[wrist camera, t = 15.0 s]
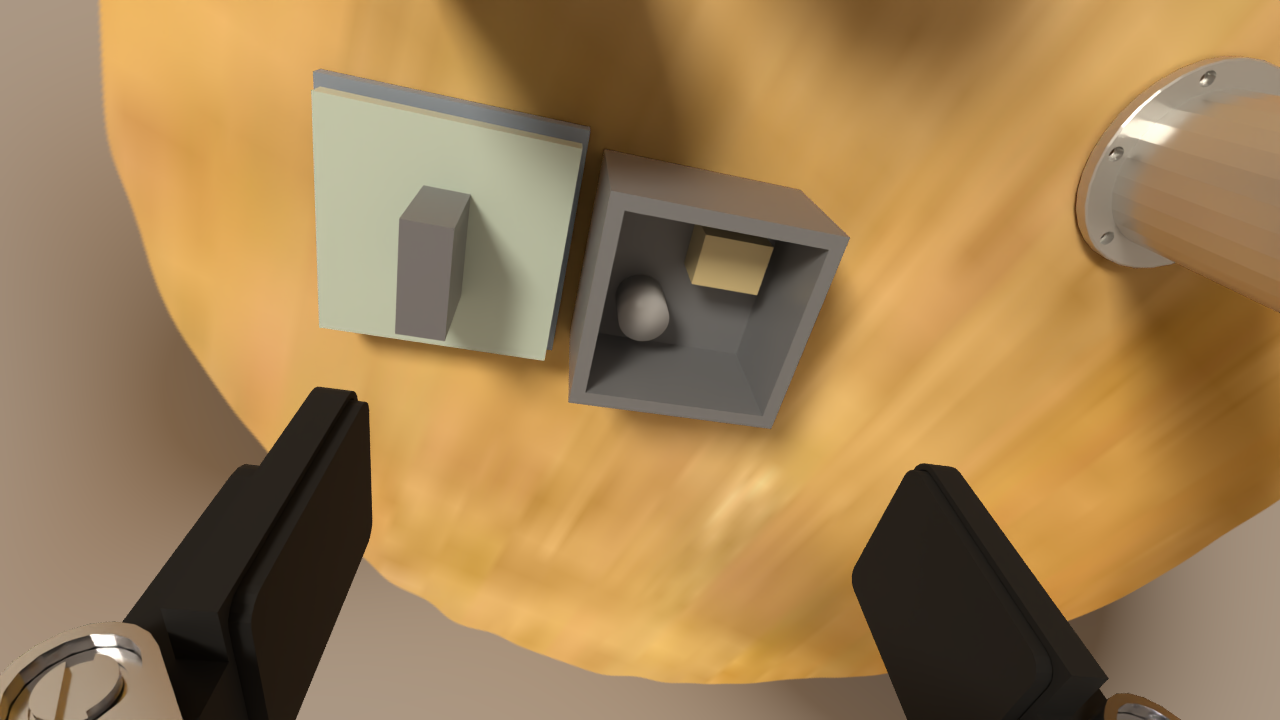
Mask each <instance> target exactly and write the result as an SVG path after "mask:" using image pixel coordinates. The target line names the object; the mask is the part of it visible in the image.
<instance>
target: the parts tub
mask: <svg viewBox="0 0 1280 720" xmlns="http://www.w3.org/2000/svg"><path fill="white" fill-rule="evenodd" d="M849 239H850V237H849V236H848V235H847V234H846V233H845V232H844V231H843V230H841V229H840V228H839V227H838V226H837V225H836V224H835V223H834V222H833V221H832V220H831V219H830V218H829V217H828V216H827V215H826V214H825V213H824V212H823V211H822V210H821V209H820V208H819V207H818V206H817V205H816V204H815V203H813V202H812V201H811V200H810V199H809V198H808V197H807V196H806V195H805V194H804V193H803V192H802V191H801V190H798V189H793V188H789V187H784V186H779V185H774V184H770V183H765V182H760V181H755V180H750V179H746V178H741V177H736V176H731V175H727V174H722V173H717V172H712V171H708V170H703V169H698V168H693V167H688V166H684V165H679V164H674V163H669V162H665V161H660V160H655V159H650V158H645V157H641V156H636V155H631V154H626V153H622V152H617V151H612V150H607V149H604V153H603V159H602V164H601V169H600V175H599V180H598V185H597V190H596V196H595V201H594V206H593V212H592V217H591V222H590V228H589V233H588V238H587V243H586V249H585V254H584V259H583V265H582V270H581V275H580V280H579V286H578V291H577V296H576V302H575V307H574V312H573V318H572V323H571V328H570V347H569V401H568V402H569V403H577V404H585V405H592V406H600V407H608V408H615V409H623V410H631V411H638V412H646V413H654V414H661V415H669V416H677V417H684V418H692V419H700V420H707V421H715V422H723V423H730V424H738V425H746V426H753V427H761V428H769V429H771V428H772V425H773V423H774V421H775V418H776V416H777V413H778V411H779V409H780V406H781V404H782V401H783V399H784V396H785V394H786V392H787V389H788V387H789V384H790V382H791V379H792V377H793V375H794V372H795V370H796V367H797V365H798V363H799V360H800V358H801V355H802V353H803V350H804V348H805V346H806V343H807V341H808V338H809V336H810V333H811V331H812V329H813V326H814V324H815V321H816V319H817V316H818V314H819V312H820V309H821V307H822V304H823V302H824V300H825V297H826V295H827V292H828V290H829V287H830V285H831V283H832V280H833V278H834V275H835V273H836V270H837V268H838V266H839V263H840V261H841V258H842V256H843V253H844V251H845V249H846V246H847V244H848V241H849Z"/></svg>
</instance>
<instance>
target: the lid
mask: <svg viewBox="0 0 1280 720" xmlns="http://www.w3.org/2000/svg"><path fill="white" fill-rule="evenodd" d="M311 94H312V124H313V154H314V184H315V214H316V244H317V274H318V304H319V327H320V328H327V329H334V330H340V331H347V332H354V333H360V334H367V335H374V336H381V337H387V338H394V339H401V340H407V341H414V342H421V343H428V344H434V345H441V346H448V347H454V348H461V349H468V350H475V351H481V352H488V353H495V354H501V355H508V356H515V357H522V358H528V359H535V360H542V361H544V360H545V354H546V349H547V343H548V338H549V332H550V327H551V321H552V316H553V310H554V304H555V299H556V293H557V288H558V282H559V277H560V271H561V265H562V260H563V254H564V249H565V243H566V238H567V232H568V227H569V221H570V215H571V210H572V204H573V199H574V193H575V188H576V182H577V177H578V171H579V165H580V160H581V154H582V143H577V142H573V141H568V140H563V139H559V138H554V137H550V136H545V135H540V134H536V133H531V132H527V131H522V130H518V129H513V128H508V127H504V126H499V125H495V124H490V123H486V122H481V121H476V120H472V119H467V118H463V117H458V116H453V115H449V114H444V113H440V112H435V111H431V110H426V109H421V108H417V107H412V106H408V105H403V104H398V103H394V102H389V101H385V100H380V99H376V98H371V97H366V96H362V95H357V94H353V93H348V92H344V91H339V90H334V89H330V88H325V87H321V86H320V87H318V88H315V89H313V90H311Z"/></svg>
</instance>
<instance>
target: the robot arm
mask: <svg viewBox="0 0 1280 720" xmlns="http://www.w3.org/2000/svg"><path fill="white" fill-rule="evenodd" d="M1076 214H1077V220H1078V226H1079V229H1080V231H1081V233H1082V236H1083V238H1084V240H1085V241H1086V242H1087V243H1088V245H1089V246H1090V247H1091V248H1092V250H1094V251H1095V252H1097V253H1098V254H1100V255H1101V256H1103V257H1104V258H1106V259H1108V260H1110V261H1112V262H1115V263H1117V264H1119V265H1122V266H1127V267H1132V268H1154V267H1160V266H1165V265H1170V264H1173V263H1177V264H1179V265H1181V266H1183V267H1185V268H1187V269H1190V270H1192V271H1194V272H1196V273H1198V274H1200V275H1202V276H1204V277H1206V278H1208V279H1210V280H1212V281H1214V282H1217V283H1219V284H1221V285H1223V286H1225V287H1227V288H1229V289H1231V290H1233V291H1235V292H1237V293H1239V294H1241V295H1243V296H1246V297H1248V298H1250V299H1252V300H1254V301H1256V302H1258V303H1260V304H1262V305H1264V306H1266V307H1268V308H1270V309H1273V310H1275V311H1277V312H1279V313H1280V67H1278V66H1276V65H1273V64H1271V63H1269V62H1267V61H1265V60H1259V59H1253V58H1247V57H1233V56H1222V57H1217V58H1211V59H1206V60H1201V61H1199V62H1196V63H1193V64H1191V65H1188V66H1185V67H1183V68H1180V69H1178V70H1177V71H1175V72H1173V73H1171V74H1169V75H1168V76H1166V77H1164V78H1162V79H1160V80H1159V81H1157V82H1156V83H1155V84H1153V85H1152V86H1150V87H1149V88H1148V89H1146V90H1145V91H1144V92H1142V93H1141V94H1140V95H1138V96H1137V97H1136V98H1135V99H1134V100H1133V101H1132V102H1131V103H1130V104H1129V105H1128V106H1127V107H1126V108H1125V109H1124V110H1123V111H1122V112H1121V113H1120V114H1119V115H1118V116H1117V117H1116V118H1115V120H1114V121H1113V122H1112V123H1111V125H1110V126H1109V127H1108V128H1107V129H1106V131H1105V132H1104V133H1103V135H1102V137H1101V138H1100V140H1099V141H1098V143H1097V145H1096V146H1095V148H1094V149H1093V151H1092V153H1091V155H1090V157H1089V159H1088V161H1087V164H1086V166H1085V168H1084V171H1083V173H1082V176H1081V180H1080V184H1079V188H1078V191H1077V203H1076ZM371 529H372V493H371V460H370V427H369V406H368V403H367V402H362V401H358V399H357V395H356V393H355V392H354V391H348V390H340V389H332V388H324V387H316V388H314V389H313V390H312V391H311V393H310V394H309V395H308V397H307V398H306V400H305V401H304V403H303V404H302V406H301V407H300V408H299V410H298V411H297V413H296V414H295V416H294V417H293V418H292V420H291V421H290V423H289V424H288V426H287V427H286V428H285V430H284V431H283V433H282V434H281V436H280V437H279V438H278V440H277V441H276V443H275V444H274V446H273V447H272V449H271V450H270V451H269V453H268V454H267V456H266V457H265V459H264V460H263V462H262V463H261V464H260V466H257V465H248V464H244V465H242V466H241V467H239V468H237V470H236V471H235V472H234V473H233V474H232V475H231V476H230V477H229V479H228V480H227V481H226V483H225V484H224V485H223V487H222V488H221V490H220V491H219V492H218V494H217V495H216V496H215V498H214V499H213V500H212V502H211V503H210V504H209V506H208V507H207V508H206V510H205V511H204V512H203V514H202V515H201V517H200V518H199V519H198V521H197V522H196V523H195V525H194V526H193V527H192V529H191V530H190V531H189V533H188V534H187V535H186V537H185V538H184V539H183V541H182V542H181V544H180V545H179V546H178V548H177V549H176V550H175V552H174V553H173V554H172V556H171V557H170V558H169V560H168V561H167V563H166V564H165V565H164V566H163V568H162V569H161V571H160V572H159V573H158V575H157V576H156V577H155V579H154V580H153V581H152V583H151V584H150V585H149V587H148V588H147V590H146V591H145V592H144V594H143V595H142V596H141V598H140V599H139V600H138V602H137V603H136V604H135V606H134V607H133V608H132V610H131V611H130V612H129V614H128V615H127V617H126V618H125V619H124V620H123V622H122V623H121V622H115V621H113V622H103V623H93V624H88V625H84V626H81V627H77V628H74V629H71V630H68V631H64V632H62V633H60V634H58V635H56V636H54V637H51V638H49V639H47V640H45V641H43V642H41V643H39V644H37V645H35V646H34V647H33V648H31V649H30V650H28V651H27V652H26V653H24V654H23V655H21V656H20V657H19V658H17V659H16V660H15V661H13V662H12V663H11V664H10V665H9V666H8V667H7V668H6V669H5V670H4V671H3V672H2V673H1V674H0V720H296V717H297V715H298V712H299V710H300V708H301V705H302V702H303V700H304V698H305V696H306V693H307V691H308V688H309V686H310V683H311V681H312V678H313V676H314V673H315V671H316V669H317V666H318V664H319V661H320V659H321V657H322V654H323V652H324V649H325V647H326V644H327V642H328V640H329V637H330V635H331V632H332V630H333V627H334V625H335V622H336V620H337V617H338V615H339V613H340V610H341V608H342V605H343V603H344V601H345V598H346V596H347V593H348V591H349V588H350V586H351V583H352V581H353V579H354V576H355V574H356V571H357V569H358V566H359V564H360V562H361V559H362V557H363V554H364V552H365V549H366V547H367V544H368V542H369V538H370V534H371ZM852 585H853V589H854V592H855V594H856V596H857V599H858V601H859V604H860V606H861V609H862V611H863V613H864V616H865V618H866V621H867V623H868V626H869V628H870V630H871V633H872V635H873V638H874V640H875V643H876V645H877V647H878V650H879V652H880V655H881V657H882V660H883V662H884V664H885V667H886V669H887V672H888V674H889V677H890V679H891V681H892V684H893V686H894V688H895V691H896V694H897V696H898V698H899V701H900V703H901V706H902V708H903V710H904V713H905V715H906V718H907V720H1181V719H1179V718H1178V717H1176V716H1175V715H1174V714H1172V713H1171V712H1169V711H1168V710H1166V709H1165V708H1164V707H1162V706H1160V705H1158V704H1156V703H1154V702H1152V701H1150V700H1148V699H1146V698H1144V697H1141V696H1137V695H1134V694H1130V693H1116V694H1115V695H1113V696H1111V697H1110V698H1108V699H1106V698H1105V696H1104V695H1103V694H1102V692H1101V691H1100V689H1099V688H1100V687H1101V686H1102V685H1103V684H1104V683H1105V682H1106V681H1107V680H1108V677H1107V676H1106V674H1105V673H1104V671H1103V670H1102V669H1101V667H1100V666H1099V664H1098V663H1097V662H1096V660H1095V659H1094V658H1093V656H1092V655H1091V653H1090V652H1089V651H1088V649H1087V648H1086V647H1085V645H1084V644H1083V642H1082V641H1081V640H1080V638H1079V637H1078V635H1077V634H1076V633H1075V632H1074V630H1073V628H1072V627H1071V626H1070V624H1069V623H1068V622H1067V620H1066V619H1065V617H1064V616H1063V615H1062V613H1061V612H1060V610H1059V609H1058V608H1057V606H1056V605H1055V604H1054V602H1053V601H1052V599H1051V598H1050V597H1049V595H1048V594H1047V592H1046V591H1045V590H1044V588H1043V587H1042V586H1041V584H1040V583H1039V581H1038V580H1037V579H1036V577H1035V576H1034V574H1033V573H1032V572H1031V570H1030V569H1029V568H1028V566H1027V565H1026V563H1025V562H1024V561H1023V559H1022V558H1021V556H1020V555H1019V554H1018V552H1017V551H1016V550H1015V548H1014V547H1013V545H1012V544H1011V543H1010V541H1009V540H1008V538H1007V537H1006V536H1005V534H1004V533H1003V532H1002V530H1001V529H1000V527H999V526H998V525H997V523H996V522H995V520H994V519H993V518H992V516H991V515H990V514H989V512H988V511H987V509H986V508H985V507H984V505H983V504H982V502H981V501H980V500H979V498H978V497H977V496H976V494H975V493H974V491H973V490H972V489H971V487H970V486H969V484H968V483H967V482H966V480H965V479H964V478H963V476H962V475H961V473H960V472H959V471H958V470H957V469H956V468H953V467H949V466H941V465H933V464H925V463H924V464H919V465H918V466H916V467H915V469H914V470H910V471H908V472H907V473H906V475H905V476H904V478H903V479H902V481H901V483H900V485H899V487H898V489H897V490H896V492H895V494H894V496H893V498H892V499H891V501H890V503H889V505H888V507H887V509H886V510H885V512H884V514H883V516H882V518H881V519H880V521H879V523H878V525H877V527H876V529H875V530H874V532H873V534H872V536H871V538H870V539H869V541H868V543H867V545H866V547H865V549H864V550H863V552H862V554H861V556H860V558H859V559H858V561H857V563H856V565H855V567H854V569H853V573H852Z"/></svg>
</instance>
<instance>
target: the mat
mask: <svg viewBox="0 0 1280 720" xmlns="http://www.w3.org/2000/svg"><path fill="white" fill-rule="evenodd" d="M313 80H314V89H315V88H318V87H320V86H321V87H325V88H330V89H334V90H339V91H344V92H348V93H353V94H357V95H362V96H366V97H371V98H376V99H380V100H385V101H389V102H394V103H398V104H403V105H408V106H412V107H417V108H421V109H426V110H431V111H435V112H440V113H444V114H449V115H453V116H458V117H463V118H467V119H472V120H476V121H481V122H486V123H490V124H495V125H499V126H504V127H508V128H513V129H518V130H522V131H527V132H531V133H536V134H540V135H545V136H550V137H554V138H559V139H563V140H568V141H573V142H577V143H582V154H581V160H580V165H579V171H578V177H577V182H576V188H575V193H574V199H573V204H572V210H571V215H570V221H569V227H568V232H567V238H566V243H565V249H564V254H563V260H562V265H561V271H560V277H559V282H558V288H557V293H556V299H555V304H554V310H553V316H552V321H551V327H550V332H549V338H548V343H547V350H552V347H553V341H554V336H555V330H556V324H557V318H558V313H559V307H560V301H561V296H562V290H563V284H564V279H565V273H566V267H567V261H568V256H569V250H570V244H571V239H572V233H573V227H574V221H575V216H576V210H577V204H578V199H579V193H580V187H581V182H582V176H583V170H584V164H585V159H586V153H587V147H588V142H589V136H590V127H588V126H583V125H578V124H574V123H569V122H565V121H560V120H555V119H551V118H546V117H541V116H537V115H532V114H527V113H523V112H518V111H513V110H509V109H504V108H499V107H495V106H490V105H486V104H481V103H476V102H472V101H467V100H462V99H458V98H453V97H448V96H444V95H439V94H434V93H430V92H425V91H420V90H416V89H411V88H407V87H402V86H397V85H393V84H388V83H383V82H379V81H374V80H369V79H365V78H360V77H355V76H351V75H346V74H341V73H337V72H332V71H328V70H323V69H319V70H316V71H313Z"/></svg>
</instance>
